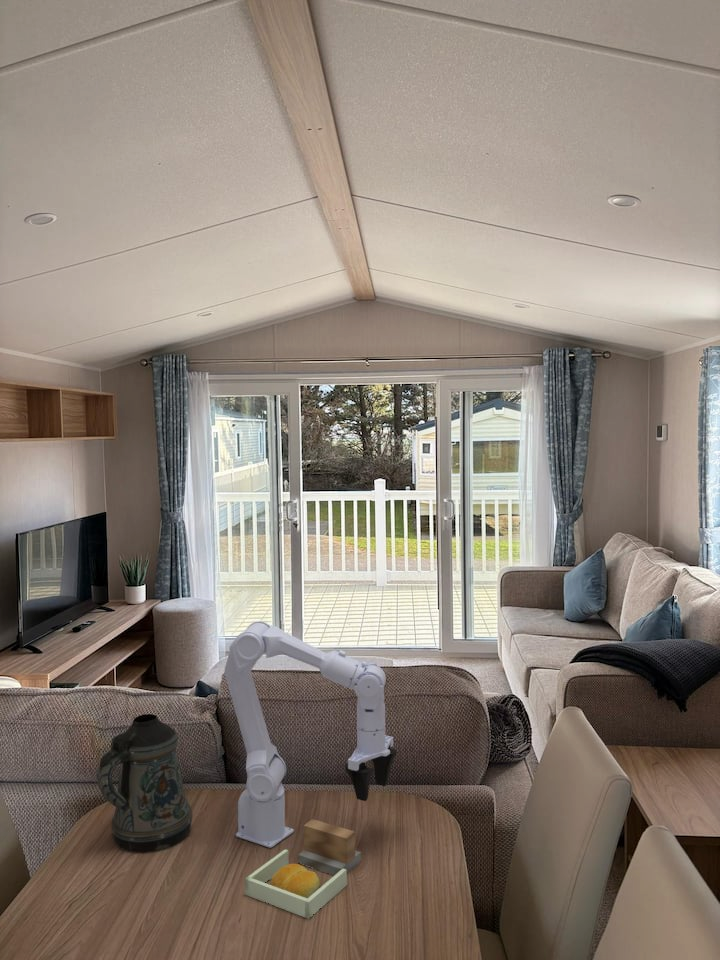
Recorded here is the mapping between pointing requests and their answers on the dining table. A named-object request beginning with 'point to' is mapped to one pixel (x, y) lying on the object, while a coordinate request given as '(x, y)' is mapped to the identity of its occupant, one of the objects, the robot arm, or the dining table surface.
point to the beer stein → (146, 787)
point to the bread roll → (296, 880)
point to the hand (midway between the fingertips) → (371, 791)
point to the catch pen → (286, 899)
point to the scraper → (328, 848)
